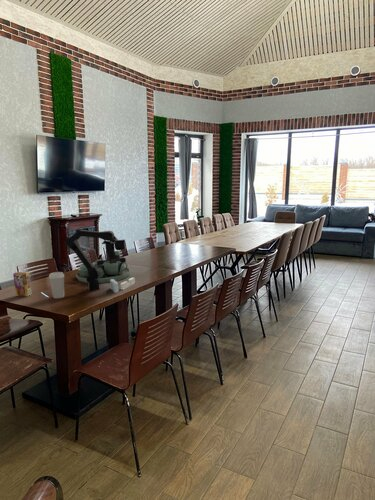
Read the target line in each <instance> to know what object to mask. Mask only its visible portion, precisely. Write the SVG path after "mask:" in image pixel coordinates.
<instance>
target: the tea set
mask: <svg viewBox="0 0 375 500" xmlns="http://www.w3.org/2000/svg"><path fill="white" fill-rule="evenodd" d="M115 255H119V256H120V257H121V250H115ZM101 259H102V260H104V259H103V258H101ZM118 262H119V261H118ZM118 262H117V263H112V264H110V263H104V264H103V265H104V269H105V275H104V272H103V270H102V268H101V266H99V265H97V264H96V261H93V262H91V263H92V264H93V265H94V266H96V265H97V266H98V268H99V269H100V272H101V273H100V276H99V277H98V279H97V280H98V282H99V284H103V283H110V280H111V279H114V280H115V281H116V282H117V281H121V280H124V279H126V278H128V277H130V276H131V269H130V268H128V264H127V261H126V262H124V264H122V265H121V268H120V272H119V273H118ZM77 270H78V273H76V274H75V277H76V279H77V280H78V281H79V282H80V283H81V282H82V283H85V284H86V283H87V284H88V282H87V280H86V279H87V278H88V277H89V274H88V271H87V268H86V267H85V265H84V264H83V263H82V264H80V265H79V268H78V269H77Z"/></svg>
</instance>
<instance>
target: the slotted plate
mask: <svg viewBox="0 0 375 500" xmlns="http://www.w3.org/2000/svg"><path fill="white" fill-rule="evenodd" d="M109 285H110V290H112V291H113V293H114V294H116V293H117V294H118V293H119V283H118V282H117V281H115V280H114V279H111V280H110V282H109Z"/></svg>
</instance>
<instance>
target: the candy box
mask: <svg viewBox="0 0 375 500" xmlns="http://www.w3.org/2000/svg"><path fill="white" fill-rule="evenodd" d="M12 275H13V281H14V282H13V283H14V292H15V297H16V296H21V297H22V296H25V297H30V296H32V295H31V294H33V293H32V285H31V277H30V271H16V272H13V274H12ZM29 295H30V296H29Z"/></svg>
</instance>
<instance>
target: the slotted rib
mask: <svg viewBox="0 0 375 500" xmlns="http://www.w3.org/2000/svg"><path fill="white" fill-rule="evenodd" d="M134 284H136V278H135V277H131V278H128V279H127V280H124V281H123V282H121V283H120V290H122V291H123V290H126V289H127V288H129V287H131V286H133V285H134Z"/></svg>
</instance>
